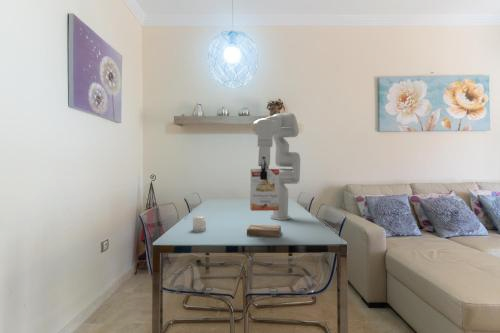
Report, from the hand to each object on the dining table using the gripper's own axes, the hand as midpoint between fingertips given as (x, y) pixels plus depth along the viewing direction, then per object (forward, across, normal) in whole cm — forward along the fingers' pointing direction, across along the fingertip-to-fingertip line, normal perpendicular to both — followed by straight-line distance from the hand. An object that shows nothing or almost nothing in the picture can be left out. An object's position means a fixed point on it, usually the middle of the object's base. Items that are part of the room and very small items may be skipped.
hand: (264, 178), depth 152 cm
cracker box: (+16, 0, 0) cm, 16 cm away
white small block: (+28, -1, -35) cm, 45 cm away
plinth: (+28, 0, 0) cm, 28 cm away
